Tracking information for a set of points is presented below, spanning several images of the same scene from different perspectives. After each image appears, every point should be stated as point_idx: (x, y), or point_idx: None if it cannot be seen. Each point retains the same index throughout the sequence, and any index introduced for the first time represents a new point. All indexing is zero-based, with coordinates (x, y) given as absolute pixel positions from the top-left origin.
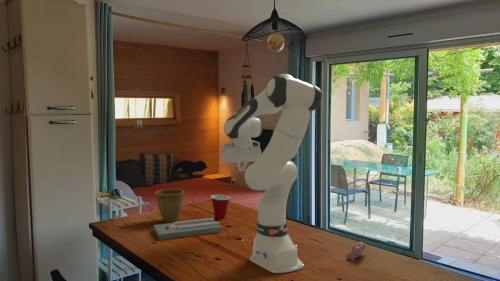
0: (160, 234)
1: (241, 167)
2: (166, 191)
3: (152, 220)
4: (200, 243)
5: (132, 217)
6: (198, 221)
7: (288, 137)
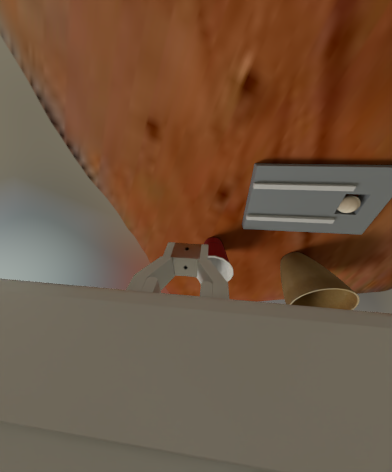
0: None
1: (189, 265)
2: None
3: None
4: (357, 87)
5: None
6: (281, 216)
7: None
